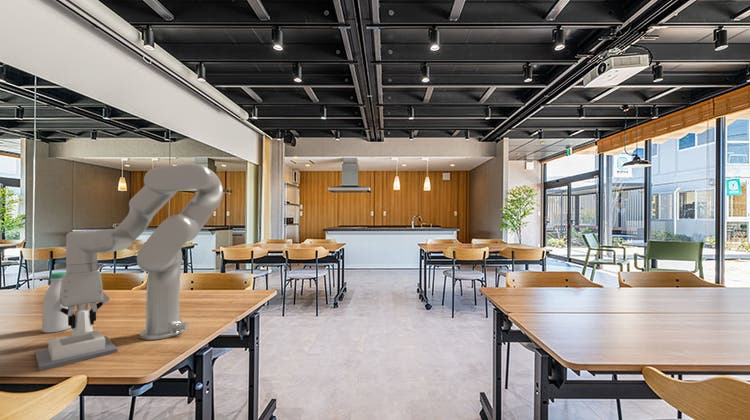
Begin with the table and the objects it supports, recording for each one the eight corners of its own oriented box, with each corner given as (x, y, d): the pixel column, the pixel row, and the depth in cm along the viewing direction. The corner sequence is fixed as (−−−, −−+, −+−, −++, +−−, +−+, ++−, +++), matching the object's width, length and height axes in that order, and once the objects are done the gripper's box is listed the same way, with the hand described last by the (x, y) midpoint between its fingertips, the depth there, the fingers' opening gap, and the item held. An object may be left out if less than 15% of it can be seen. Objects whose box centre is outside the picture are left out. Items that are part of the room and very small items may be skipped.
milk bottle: (77, 327, 117) (79, 271, 118) (50, 334, 110) (52, 275, 110) (64, 325, 119) (66, 270, 120) (36, 331, 112) (38, 273, 113)
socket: (106, 338, 106) (106, 326, 106) (117, 351, 95) (118, 338, 95) (35, 354, 93) (35, 340, 94) (39, 370, 83) (40, 355, 83)
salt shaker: (78, 335, 107) (77, 301, 107) (97, 333, 108) (97, 300, 108) (66, 341, 101) (66, 305, 102) (86, 339, 102) (86, 304, 103)
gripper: (112, 264, 114) (112, 317, 113) (44, 271, 101) (44, 330, 101) (117, 266, 109) (117, 321, 108) (46, 273, 96) (46, 335, 96)
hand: (82, 325), depth 105 cm, fingers closed on salt shaker, 3 cm apart
